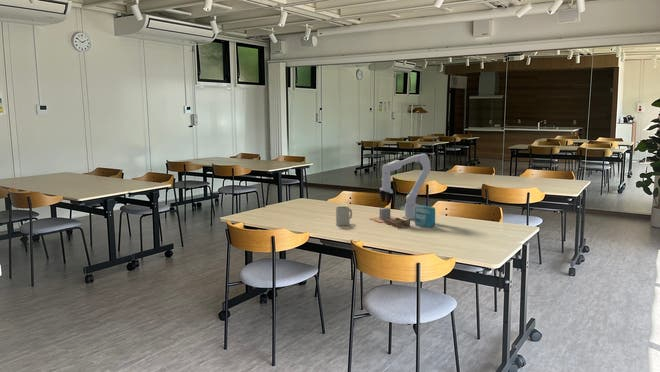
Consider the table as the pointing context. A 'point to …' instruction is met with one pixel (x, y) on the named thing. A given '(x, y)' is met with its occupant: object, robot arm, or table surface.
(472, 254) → the table surface
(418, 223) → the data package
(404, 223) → the frame
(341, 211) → the mug
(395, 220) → the mat
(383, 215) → the blank block
